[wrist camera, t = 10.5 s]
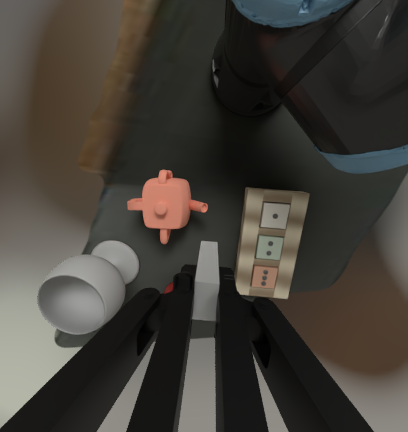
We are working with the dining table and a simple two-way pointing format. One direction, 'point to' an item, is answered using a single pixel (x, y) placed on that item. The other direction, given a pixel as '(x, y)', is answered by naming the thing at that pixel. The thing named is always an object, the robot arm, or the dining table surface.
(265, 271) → the key three
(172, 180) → the teapot
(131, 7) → the dining table surface
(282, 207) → the key one
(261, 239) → the key two
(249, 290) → the key board
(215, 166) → the dining table surface
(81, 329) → the chalice
